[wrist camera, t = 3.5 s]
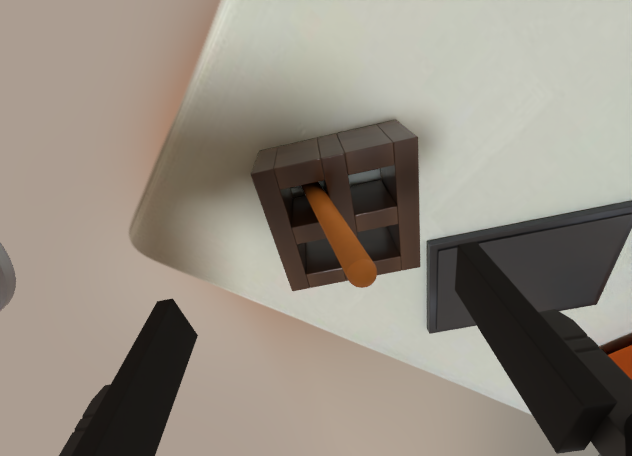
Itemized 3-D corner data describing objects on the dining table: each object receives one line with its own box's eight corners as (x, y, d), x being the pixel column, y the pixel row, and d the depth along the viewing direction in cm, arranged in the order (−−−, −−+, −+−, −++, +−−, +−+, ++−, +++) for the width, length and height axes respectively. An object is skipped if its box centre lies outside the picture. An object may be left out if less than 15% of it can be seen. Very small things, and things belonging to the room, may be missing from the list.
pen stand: (293, 256, 30) (292, 291, 25) (258, 150, 24) (250, 173, 19) (402, 234, 29) (420, 267, 25) (396, 119, 23) (418, 136, 19)
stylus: (300, 187, 25) (354, 297, 13) (296, 172, 25) (349, 274, 12) (315, 183, 25) (383, 288, 13) (311, 168, 25) (380, 264, 12)
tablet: (426, 328, 37) (430, 335, 36) (426, 240, 29) (430, 246, 28) (591, 299, 35) (598, 305, 35) (634, 200, 28) (645, 205, 27)
